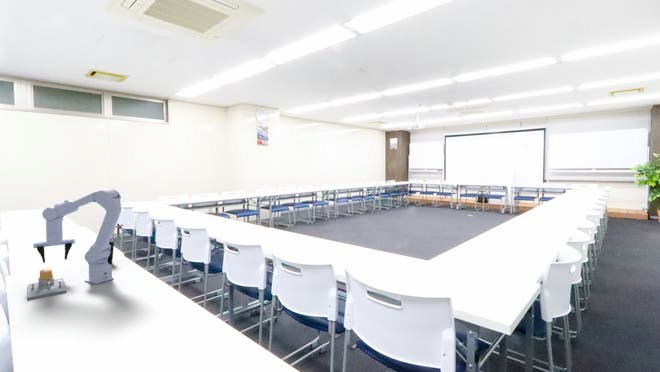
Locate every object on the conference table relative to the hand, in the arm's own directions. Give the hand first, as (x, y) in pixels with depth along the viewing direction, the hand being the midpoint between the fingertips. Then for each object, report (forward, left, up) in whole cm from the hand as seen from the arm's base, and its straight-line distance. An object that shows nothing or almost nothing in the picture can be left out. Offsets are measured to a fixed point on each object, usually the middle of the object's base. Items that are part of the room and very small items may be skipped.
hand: (55, 260), depth 145 cm
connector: (-3, +5, -9) cm, 11 cm away
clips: (-9, +8, -10) cm, 15 cm away
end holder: (-3, +5, -9) cm, 11 cm away
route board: (-9, +8, -10) cm, 15 cm away
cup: (+7, -27, -10) cm, 30 cm away
